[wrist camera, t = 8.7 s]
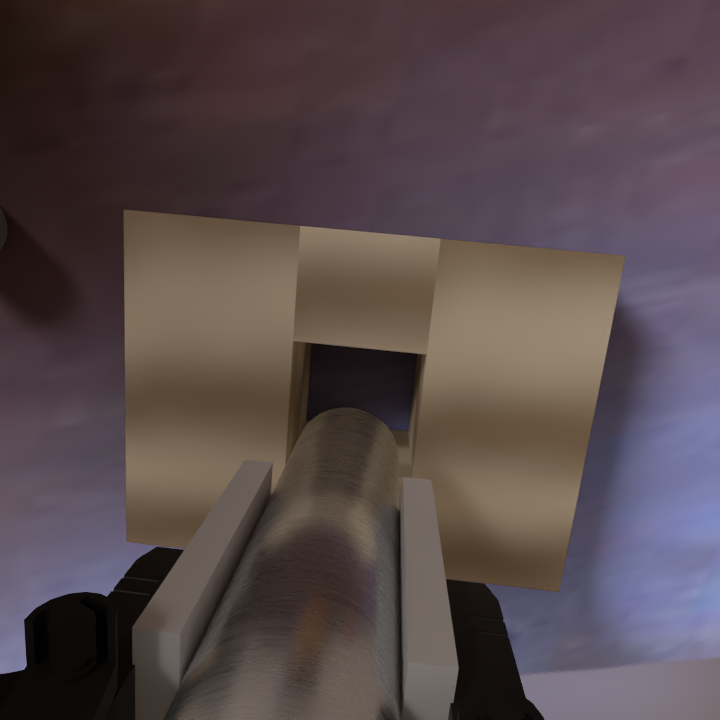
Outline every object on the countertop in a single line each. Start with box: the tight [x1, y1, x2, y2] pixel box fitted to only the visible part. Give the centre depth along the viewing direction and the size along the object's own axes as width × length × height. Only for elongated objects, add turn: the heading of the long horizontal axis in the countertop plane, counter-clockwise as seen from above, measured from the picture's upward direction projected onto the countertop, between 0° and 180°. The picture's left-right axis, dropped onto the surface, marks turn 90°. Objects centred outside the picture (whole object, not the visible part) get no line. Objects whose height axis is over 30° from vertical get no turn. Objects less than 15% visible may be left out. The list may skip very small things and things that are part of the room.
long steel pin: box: [164, 407, 402, 720], centre depth 11 cm, size 4×4×16 cm
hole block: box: [124, 210, 625, 592], centre depth 26 cm, size 15×20×6 cm
